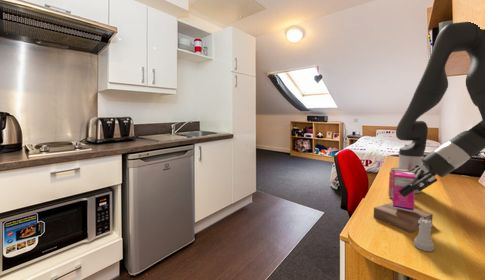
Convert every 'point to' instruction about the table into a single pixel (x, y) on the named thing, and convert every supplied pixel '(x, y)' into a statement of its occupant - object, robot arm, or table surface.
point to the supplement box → (400, 182)
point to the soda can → (391, 179)
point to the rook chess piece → (424, 236)
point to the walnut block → (401, 216)
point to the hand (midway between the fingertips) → (398, 190)
